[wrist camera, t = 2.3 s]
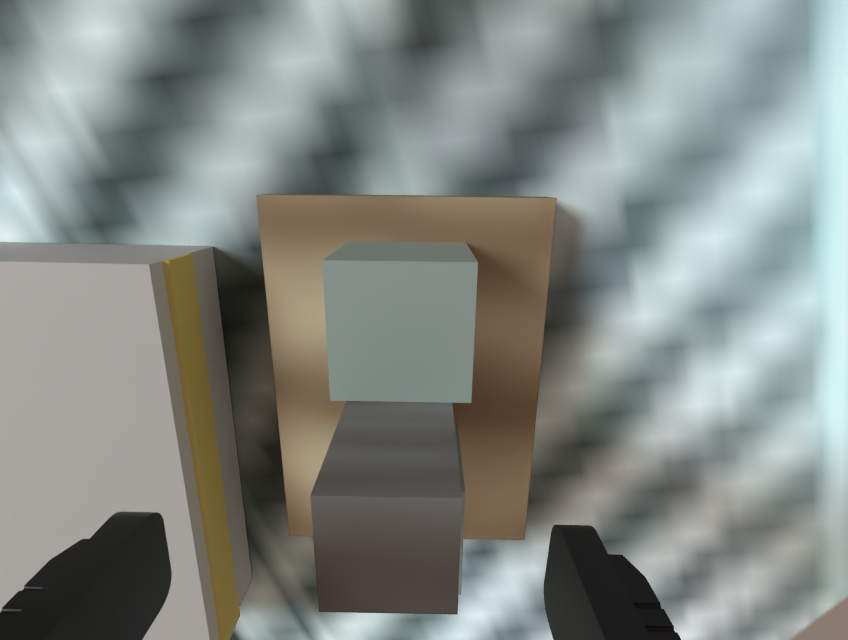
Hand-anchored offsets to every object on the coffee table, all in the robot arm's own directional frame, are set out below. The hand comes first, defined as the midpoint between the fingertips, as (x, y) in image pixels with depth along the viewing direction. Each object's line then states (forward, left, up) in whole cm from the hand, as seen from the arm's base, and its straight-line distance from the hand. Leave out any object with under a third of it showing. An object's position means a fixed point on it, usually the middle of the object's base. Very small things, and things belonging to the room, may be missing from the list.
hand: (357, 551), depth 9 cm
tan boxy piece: (-1, 0, -10) cm, 10 cm away
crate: (-1, -3, -8) cm, 9 cm away
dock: (+13, +3, -9) cm, 16 cm away
